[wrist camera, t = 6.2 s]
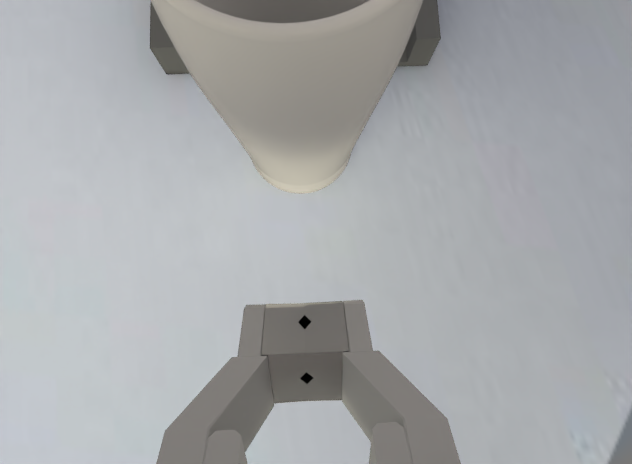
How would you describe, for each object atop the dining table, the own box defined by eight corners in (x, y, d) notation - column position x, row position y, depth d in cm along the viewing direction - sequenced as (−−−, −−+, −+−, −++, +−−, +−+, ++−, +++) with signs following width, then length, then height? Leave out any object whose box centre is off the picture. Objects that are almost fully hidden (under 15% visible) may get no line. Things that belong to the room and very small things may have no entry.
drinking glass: (238, 89, 24) (118, -265, 9) (362, 88, 24) (447, -262, 9) (236, 210, 23) (93, 38, 8) (365, 209, 23) (468, 39, 8)
